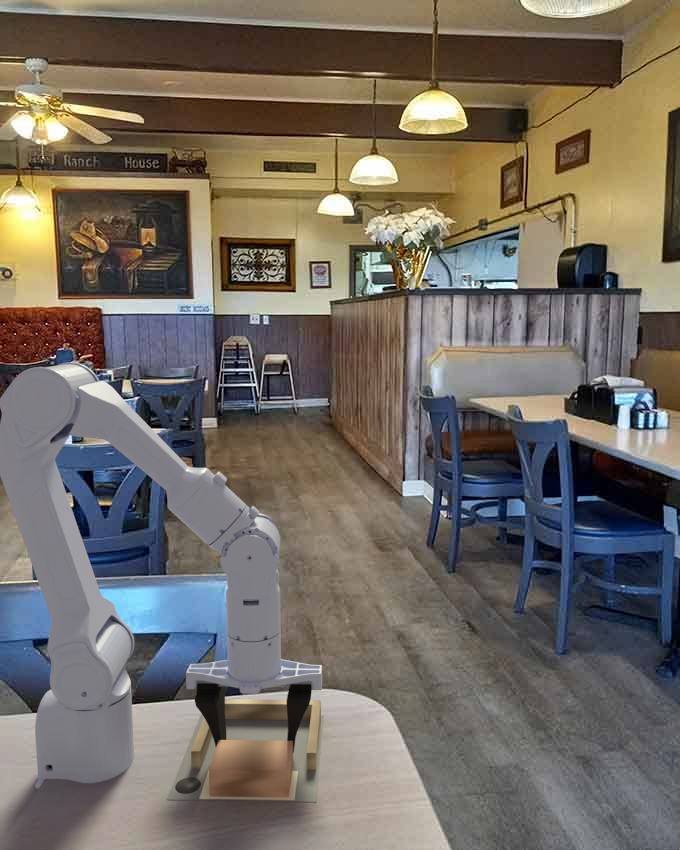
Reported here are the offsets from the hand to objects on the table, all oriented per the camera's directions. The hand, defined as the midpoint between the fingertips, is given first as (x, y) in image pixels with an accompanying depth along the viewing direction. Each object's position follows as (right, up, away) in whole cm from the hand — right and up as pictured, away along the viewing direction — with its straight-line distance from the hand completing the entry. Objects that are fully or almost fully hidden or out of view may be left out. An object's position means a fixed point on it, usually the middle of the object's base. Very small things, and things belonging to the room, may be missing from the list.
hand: (256, 747), depth 77 cm
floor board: (-1, -2, +1) cm, 2 cm away
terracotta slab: (0, -2, -4) cm, 4 cm away
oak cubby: (0, -1, +3) cm, 3 cm away
